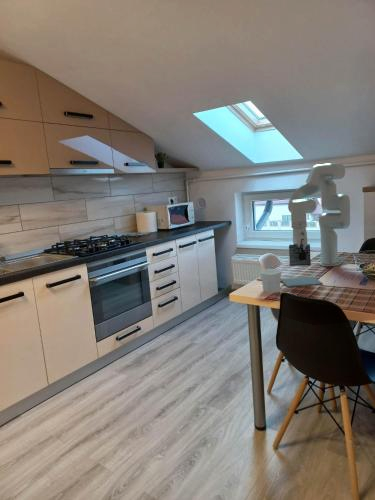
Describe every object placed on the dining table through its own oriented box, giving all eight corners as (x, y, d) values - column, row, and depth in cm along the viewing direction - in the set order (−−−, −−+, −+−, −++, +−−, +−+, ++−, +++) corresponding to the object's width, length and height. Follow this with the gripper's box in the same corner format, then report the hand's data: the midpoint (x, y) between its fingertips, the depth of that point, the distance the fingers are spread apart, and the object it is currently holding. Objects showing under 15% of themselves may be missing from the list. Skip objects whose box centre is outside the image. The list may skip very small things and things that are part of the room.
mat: (313, 277, 203) (313, 276, 203) (322, 284, 189) (322, 283, 189) (280, 280, 203) (280, 279, 203) (287, 287, 189) (287, 286, 189)
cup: (270, 295, 180) (269, 275, 178) (257, 290, 188) (256, 271, 187) (286, 290, 184) (285, 271, 182) (272, 286, 193) (271, 268, 191)
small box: (310, 263, 196) (310, 243, 194) (310, 265, 189) (310, 245, 188) (290, 263, 199) (289, 244, 197) (289, 266, 193) (288, 246, 191)
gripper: (312, 226, 182) (312, 260, 185) (300, 222, 199) (301, 254, 202) (296, 227, 182) (298, 262, 185) (286, 223, 199) (288, 255, 202)
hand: (299, 257), depth 194 cm, fingers closed on small box, 7 cm apart
